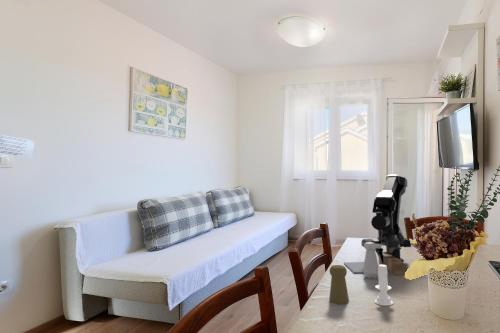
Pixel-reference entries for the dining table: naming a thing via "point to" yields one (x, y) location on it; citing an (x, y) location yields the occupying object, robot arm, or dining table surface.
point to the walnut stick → (392, 264)
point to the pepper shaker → (338, 285)
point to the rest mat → (355, 266)
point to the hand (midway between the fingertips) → (386, 263)
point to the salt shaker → (370, 261)
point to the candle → (383, 287)
